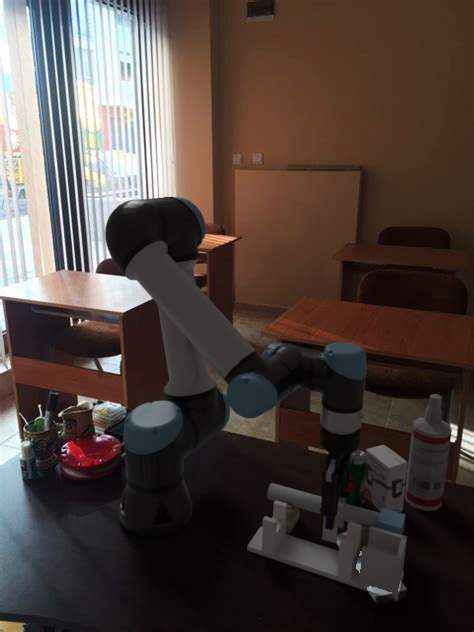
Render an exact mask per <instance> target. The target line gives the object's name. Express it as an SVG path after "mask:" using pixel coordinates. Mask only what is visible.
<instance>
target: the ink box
mask: <svg viewBox="0 0 474 632" xmlns="http://www.w3.org/2000/svg"><path fill="white" fill-rule="evenodd" d="M365 450H366V451H365V455H366V458H367V466H366V478H365V489H364V499H366V500H367V501H369V503H370V504H372V505H373V506H374V507H375V508H376V509H377V510H378V511H379V513H380V512H381V509H382V508H384V509H388V510H391V511H395V512H399V513H402V511H403V510H404V500H405V489H406V480H407V471H408V462H407V461H406V460H405V459H404V458H403V457H402V456H400V455H399V454H398V453H396V452H395V451H394V450H392V449H391V448H390V447H388V446H386V445H385V444H381V445H378V446H372V447H370V448H366V449H365Z"/></svg>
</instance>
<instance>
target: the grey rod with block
mask: <svg viewBox="0 0 474 632" xmlns="http://www.w3.org/2000/svg"><path fill="white" fill-rule="evenodd" d="M266 497H267V500H271V501H273V502H275V500H276V501H280V502H283V503H287V504H289V505H292V506H294V507H298V508H299V509H301V510H305V511H309V512H312V513H316V514H318V515H321V512H320V511H319V510H320V508H321V500H322V495H321V496H320V495H316V494H312V493H310V492H305V491H302V490H299V489H295V488H291V487H287V486H285V485H281V484H278V483H274V482H271V483H270V484H269V487H268V489H267V496H266ZM338 512H339V520H343V521H344V522H347V523H349V522H352V523H356V524H359V525H362V526H365V527H368V528H370V526H372V527H376V528H379V529H383V530H386V531H389V532H393V533H396V534H400V535H404V530H405V524H406V523H405V522H406V515H407V514H406V513H402V512H395V511H391V510H388V509H384V508H382V509H381V512H380V511H379V512H378V511H375V510H371V509H367V508H364V507H361V506H360V507H357V506H353V505H349V504H346V503H342V502H339V503H338Z"/></svg>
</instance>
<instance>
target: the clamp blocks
mask: <svg viewBox="0 0 474 632" xmlns="http://www.w3.org/2000/svg"><path fill="white" fill-rule="evenodd" d="M299 519H300V508H298V507H294V506H292V505H289V504H287V519H286V534H287V535H291V534H292V531H293V530H294V528H295V526H296V524H297V523H298V521H299ZM369 530H370V528H368V527H365V526H362V531H361V542H360V551H362V548H363V547H366V548H367V546H368V541H369Z"/></svg>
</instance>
